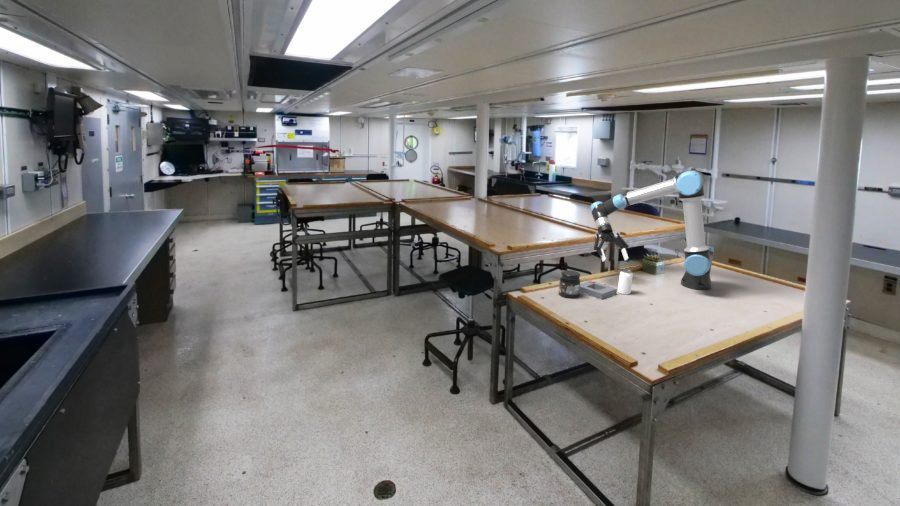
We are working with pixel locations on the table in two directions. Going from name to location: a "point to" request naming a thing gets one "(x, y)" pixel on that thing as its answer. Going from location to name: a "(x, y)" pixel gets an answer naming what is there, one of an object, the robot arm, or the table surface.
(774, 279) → the table surface
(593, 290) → the socket plate
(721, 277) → the table surface
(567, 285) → the supplement container
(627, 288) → the can
